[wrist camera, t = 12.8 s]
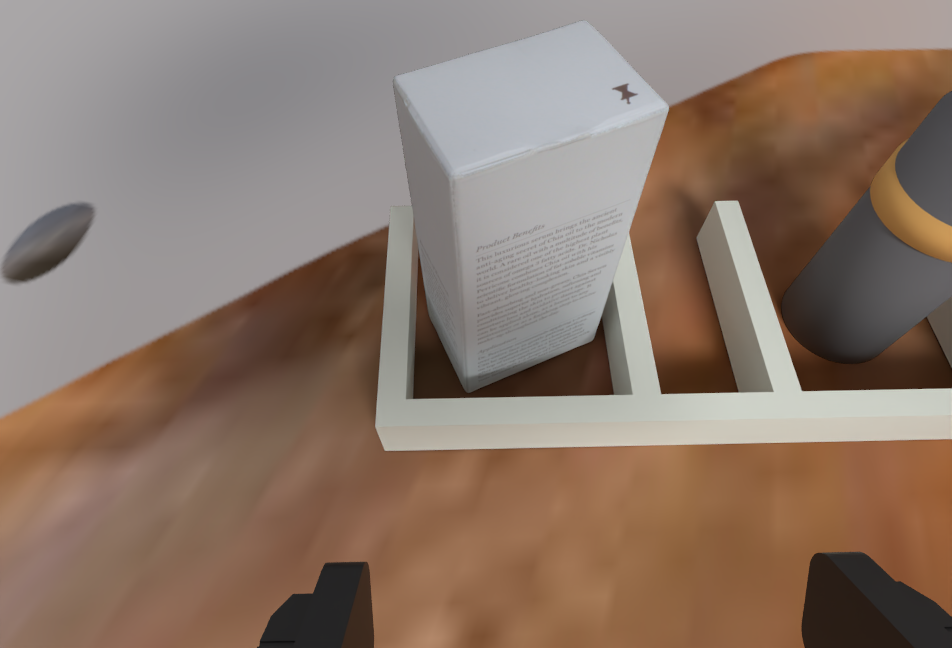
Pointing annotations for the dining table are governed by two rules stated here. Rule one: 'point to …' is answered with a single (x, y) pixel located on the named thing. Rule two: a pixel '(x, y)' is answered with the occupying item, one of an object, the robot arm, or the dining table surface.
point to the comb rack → (650, 372)
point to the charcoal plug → (882, 254)
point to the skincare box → (524, 192)
